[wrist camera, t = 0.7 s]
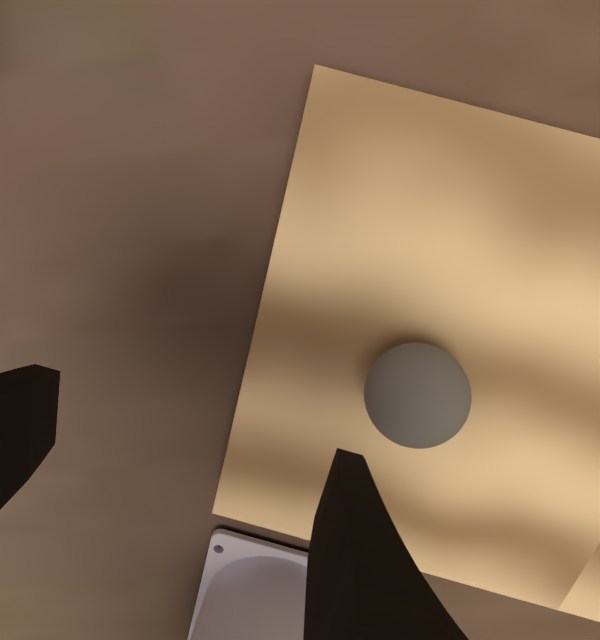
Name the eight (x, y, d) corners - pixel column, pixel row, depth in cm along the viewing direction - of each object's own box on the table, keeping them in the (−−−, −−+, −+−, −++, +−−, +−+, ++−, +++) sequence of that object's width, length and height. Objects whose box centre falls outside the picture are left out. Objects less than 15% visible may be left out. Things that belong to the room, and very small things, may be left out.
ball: (440, 423, 19) (458, 483, 15) (352, 399, 19) (350, 454, 15) (474, 341, 17) (501, 389, 14) (379, 316, 17) (383, 357, 14)
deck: (753, 623, 23) (797, 677, 21) (226, 476, 24) (212, 513, 21) (1055, 266, 17) (1167, 287, 14) (321, 74, 17) (314, 64, 15)
